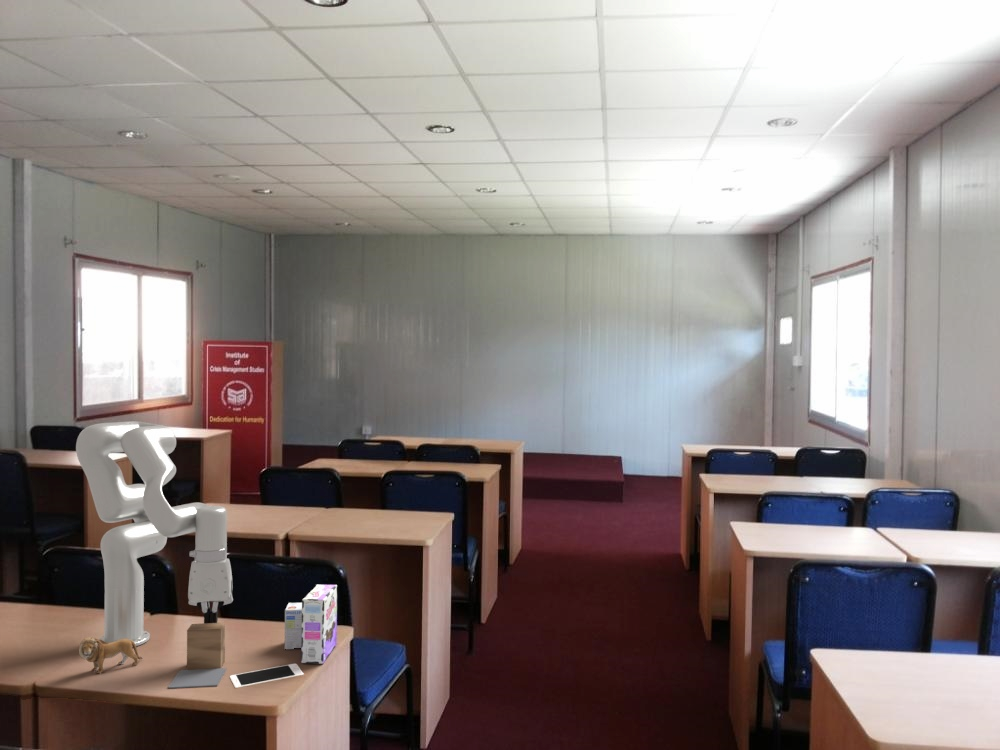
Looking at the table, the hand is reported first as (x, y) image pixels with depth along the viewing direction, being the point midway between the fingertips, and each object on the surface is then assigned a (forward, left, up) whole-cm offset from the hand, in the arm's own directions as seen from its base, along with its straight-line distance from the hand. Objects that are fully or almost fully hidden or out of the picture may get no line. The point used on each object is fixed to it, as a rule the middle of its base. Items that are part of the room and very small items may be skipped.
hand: (210, 626), depth 190 cm
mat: (+12, 0, -8) cm, 15 cm away
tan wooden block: (+4, 0, -8) cm, 10 cm away
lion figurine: (+4, -23, -9) cm, 25 cm away
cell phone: (+12, +16, -9) cm, 22 cm away
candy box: (0, +27, -8) cm, 29 cm away
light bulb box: (-7, +23, -8) cm, 26 cm away
